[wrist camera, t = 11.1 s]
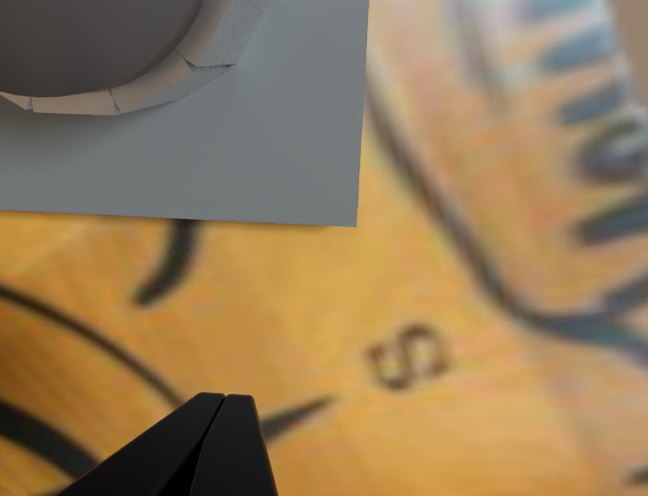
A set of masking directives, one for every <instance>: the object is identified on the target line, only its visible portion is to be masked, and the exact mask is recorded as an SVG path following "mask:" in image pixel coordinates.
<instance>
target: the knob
mask: <svg viewBox="0 0 648 496" xmlns="http://www.w3.org/2000/svg"><path fill="white" fill-rule="evenodd" d="M203 2H204V0H0V92H4V93H8V94H13V95H18V96H27V97H37V98H41V97H62V96H69V95H76V94H83V93H90V92H96V91H102V90H107V89H112V88H115V87H118V86H120V85H123V84H126V83H129V82H131V81H133V80H135V79H137V78H139V77H141V76H143V75H145V74H146V73H148V72H149V71H150V70H152V69H153V68H155V67H156V66H157V65H159V64H160V63H161V62H162V61H163V60H165V59H166V58H167V57H168V56H169V55H170V54H171V53H172V52H173V51H174V50H175V49H176V48H177V46H178V45H179V44H180V42H181V41H182V40H183V38H184V37H185V36H186V35H187V33H188V32H189V30H190V28H191V26H192V25H193V23H194V21H195V19H196V18H197V16H198V14H199V12H200V9H201V7H202V4H203Z"/></svg>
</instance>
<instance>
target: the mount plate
mask: <svg viewBox="0 0 648 496" xmlns="http://www.w3.org/2000/svg"><path fill="white" fill-rule="evenodd" d="M265 1H266V2H268V3H269V5H268V7H267V9H266V11H265V13H264V14H263V16H262V18H261V20H260V22H259V24H258V26H257V28H256V29H255V31H254V33H253V35H252V37H251V39H250V41H249V43H248V44H247V46H246V48H245V50H244V52H243V54H242V56H241V58H240V59H239V61H238V63H237V64H231V66H232V67H233V68H232V69H231V70H229V71H227V72H226V73H224V74H222V75H220V76H219V77H217V78H215V79H214V80H212V81H210V82H208V83H207V84H205V85H203V86H202V87H200V88H198V89H197V90H195V91H193V92H191V93H190V94H188V95H186V96H185V97H183V98H181V99H179V100H175V101H171V102H167V103H163V104H159V105H155V106H151V107H147V108H143V109H139V110H135V111H131V112H127V113H123V114H119V115H115V116H113V115H88V114H64V113H39V112H34V111H33V109H28V110H25V109H24V108H22V107H20V106H19V105H17V104H15V103H14V102H12V101H10V100H8V99H7V98H5V97H3V96H2V95H0V210H13V211H34V212H55V213H76V214H96V215H117V216H138V217H159V218H179V219H200V220H221V221H242V222H262V223H283V224H304V225H325V226H345V227H356V225H357V207H358V189H359V171H360V153H361V135H362V117H363V98H364V80H365V62H366V44H367V26H368V8H369V0H265Z"/></svg>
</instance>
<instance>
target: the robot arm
mask: <svg viewBox="0 0 648 496" xmlns="http://www.w3.org/2000/svg"><path fill="white" fill-rule="evenodd" d="M55 496H278V492H277V488H276V484H275V480H274V476H273V472H272V468H271V464H270V460H269V456H268V452H267V448H266V444H265V440H264V437H263V433H262V429H261V425H260V421H259V417H258V413H257V409H256V405H255V401H254V398H253V397H252V396H251V395H239V394H229V395H227V396H225V395H224V394H222V393H207V392H201V393H199V394H197V395H195V396H194V397H193V398H191V399H190V400H188V401H187V402H186V403H184V404H183V405H181V406H180V407H179V408H177V409H176V410H174V411H173V412H172V413H170V414H169V415H167V416H166V417H165V418H163V419H162V420H160V421H159V422H158V423H156V424H155V425H153V426H152V427H151V428H149V429H148V430H146V431H145V432H143V433H142V434H141V435H139V436H138V437H136V438H135V439H134V440H132V441H131V442H129V443H128V444H127V445H125V446H124V447H122V448H121V449H120V450H118V451H117V452H115V453H114V454H113V455H111V456H110V457H108V458H107V459H106V460H104V461H103V462H101V463H100V464H99V465H97V466H96V467H94V468H93V469H92V470H90V471H89V472H87V473H86V474H85V475H83V476H82V477H80V478H79V479H77V480H76V481H75V482H73V483H72V484H70V485H69V486H68V487H66V488H65V489H63V490H62V491H61V492H59V493H58V494H56V495H55Z"/></svg>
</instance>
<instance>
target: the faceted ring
mask: <svg viewBox="0 0 648 496" xmlns="http://www.w3.org/2000/svg"><path fill="white" fill-rule="evenodd" d="M268 5H269V3H268V2H266V1H265V0H204V2H203V4H202V7H201V9H200V12H199V14H198V16H197V18H196V19H195V21H194V23H193V25H192V26H191V28H190V30H189V32H188V33H187V35H186V36H185V37H184V38H183V40H182V41H181V42H180V44H179V45H178V46H177V48H176V49H175V50H174V51H173V52H172V53H171V54H170V55H169V56H168V57H167V58H166V59H165V60H163V61H162V62H161V63H160V64H159V65H157V66H156V67H155V68H153V69H152V70H150V71H149V72H148V73H146V74H145V75H143V76H141V77H139V78H137V79H135V80H133V81H131V82H129V83H126V84H123V85H120V86H118V87H115V88H112V89H107V90H102V91H96V92H90V93H83V94H76V95H69V96H62V97H41V98H37V97H27V96H18V95H13V94H8V93H4V92H0V95H2V96H3V97H5V98H7V99H8V100H10V101H12V102H14V103H15V104H17V105H19V106H20V107H22V108H24V109H25V110H28V109H33V111H34V112H39V113H64V114H88V115H113V116H115V115H119V114H123V113H127V112H131V111H135V110H139V109H143V108H147V107H151V106H155V105H159V104H163V103H167V102H171V101H175V100H179V99H181V98H183V97H185V96H186V95H188V94H190V93H191V92H193V91H195V90H197V89H198V88H200V87H202V86H203V85H205V84H207V83H208V82H210V81H212V80H214V79H215V78H217V77H219V76H220V75H222V74H224V73H226V72H227V71H229V70H231V69H232V68H233V67H232V66H231V64H237V63H238V61H239V59H240V58H241V56H242V54H243V52H244V50H245V48H246V46H247V44H248V43H249V41H250V39H251V37H252V35H253V33H254V31H255V29H256V28H257V26H258V24H259V22H260V20H261V18H262V16H263V14H264V13H265V11H266V9H267V7H268Z"/></svg>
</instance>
